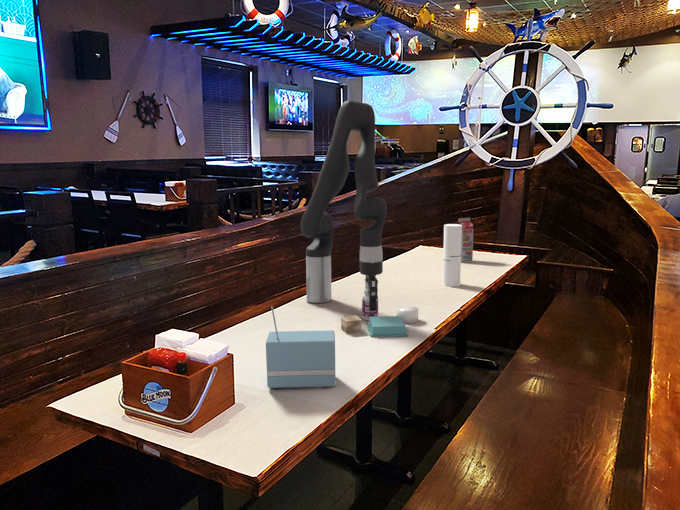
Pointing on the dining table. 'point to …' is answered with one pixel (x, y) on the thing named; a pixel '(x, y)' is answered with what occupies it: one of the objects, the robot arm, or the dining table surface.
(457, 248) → the cylindrical container
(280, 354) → the radio
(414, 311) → the white rounded puck
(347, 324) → the tan square block
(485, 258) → the dining table surface
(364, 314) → the pill bottle
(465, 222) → the juice carton
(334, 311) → the dining table surface
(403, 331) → the podium
